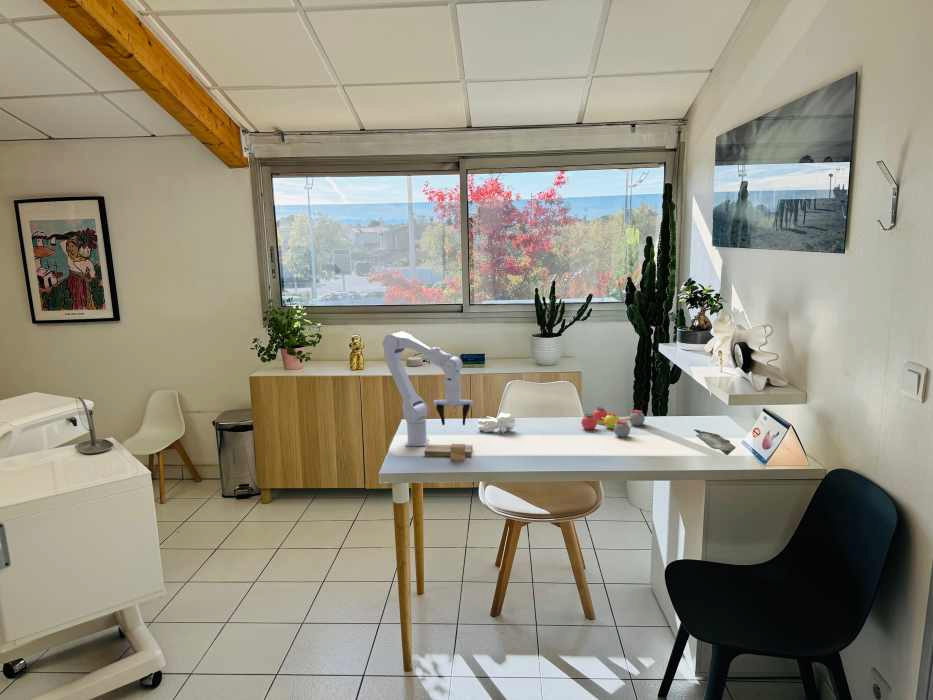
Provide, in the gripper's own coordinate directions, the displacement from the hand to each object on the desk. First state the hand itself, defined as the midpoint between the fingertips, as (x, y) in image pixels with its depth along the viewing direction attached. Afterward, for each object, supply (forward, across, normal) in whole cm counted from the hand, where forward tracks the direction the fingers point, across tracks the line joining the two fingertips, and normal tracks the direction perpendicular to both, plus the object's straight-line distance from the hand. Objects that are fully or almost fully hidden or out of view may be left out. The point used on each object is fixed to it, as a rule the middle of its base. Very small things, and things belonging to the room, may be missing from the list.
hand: (453, 424), depth 244 cm
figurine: (+10, +16, +23) cm, 29 cm away
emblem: (+10, +100, +11) cm, 101 cm away
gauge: (+10, +3, -10) cm, 14 cm away
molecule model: (+10, +63, +28) cm, 70 cm away
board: (+9, -2, -5) cm, 11 cm away
